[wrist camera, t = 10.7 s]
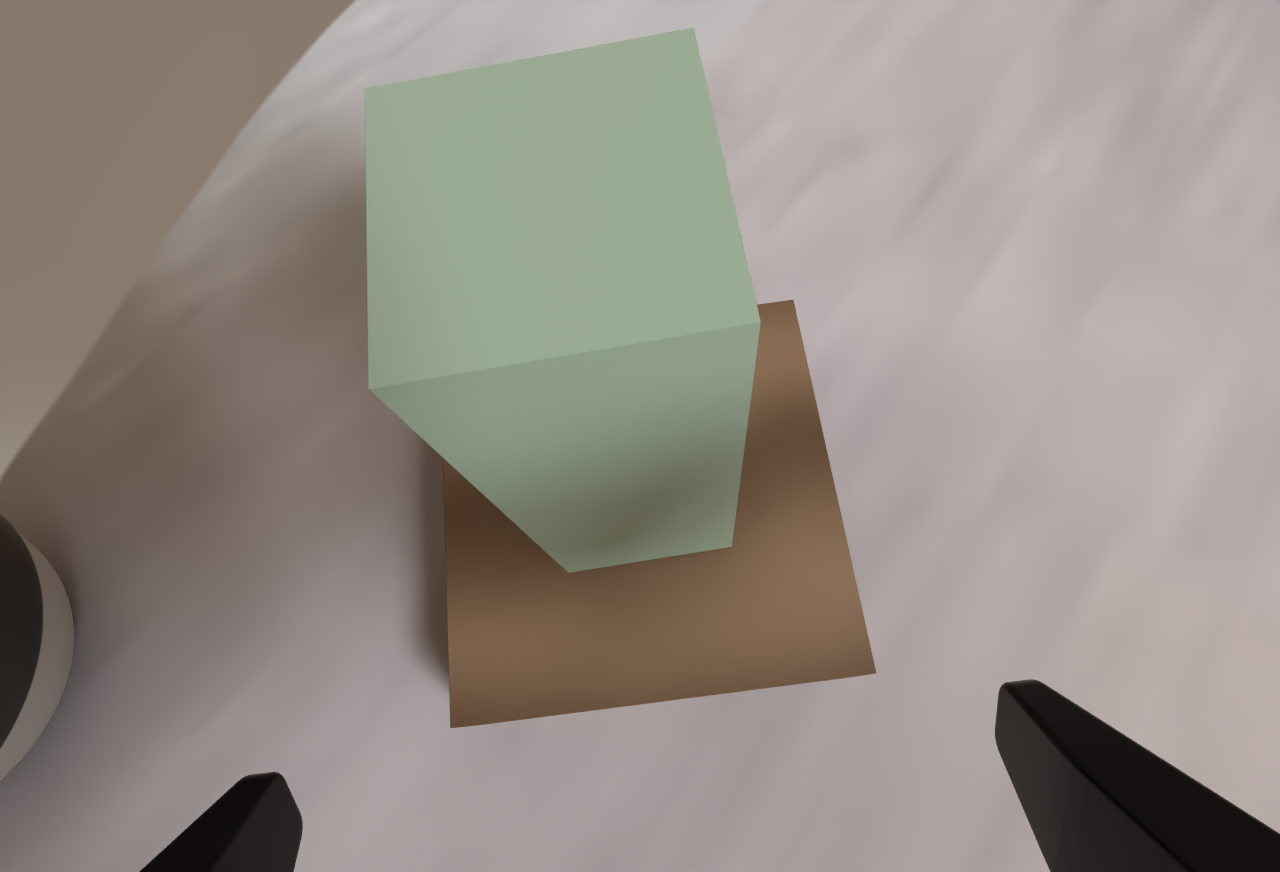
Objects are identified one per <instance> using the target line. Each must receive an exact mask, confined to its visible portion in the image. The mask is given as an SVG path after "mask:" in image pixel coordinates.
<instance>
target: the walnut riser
mask: <svg viewBox="0 0 1280 872" xmlns="http://www.w3.org/2000/svg"><path fill="white" fill-rule="evenodd" d="M757 308H758V312H759V317H760V321H761V324H760V332H759V340H758V347H757V355H756V363H755V370H754V378H753V386H752V394H751V401H750V409H749V417H748V425H747V432H746V440H745V448H744V455H743V463H742V471H741V479H740V486H739V494H738V502H737V509H736V517H735V525H734V533H733V540H732V547H727V548H721V549H715V550H709V551H702V552H696V553H690V554H684V555H677V556H671V557H665V558H659V559H652V560H646V561H640V562H634V563H627V564H621V565H615V566H609V567H602V568H596V569H590V570H584V571H577V572H571V573H568V572H567V571H566V570H565V569H564V568H563V567H562V566H561V565H559V564H558V563H557V562H556V561H555V560H554V559H553V558H552V557H551V556H550V555H549V554H547V553H546V552H545V551H544V550H543V549H542V548H541V547H540V546H539V545H538V544H537V543H535V542H534V541H533V540H532V539H531V538H530V537H529V536H528V535H527V534H526V533H525V532H523V531H522V530H521V529H520V528H519V527H518V526H517V525H516V524H515V523H514V522H513V521H511V520H510V519H509V518H508V517H507V516H506V515H505V514H504V513H503V512H502V511H501V510H499V509H498V508H497V507H496V506H495V505H494V504H493V503H492V502H491V501H490V500H489V499H487V498H486V497H485V496H484V495H483V494H482V493H481V492H480V491H479V490H478V489H477V488H476V487H474V486H473V485H472V484H471V483H470V482H469V481H468V480H467V479H466V478H465V477H464V476H462V475H461V474H460V473H459V472H458V471H457V470H456V469H455V468H454V467H453V466H452V465H450V464H449V463H448V462H447V461H446V460H445V459H444V458H443V477H444V513H445V549H446V585H447V620H448V656H449V692H450V727H451V728H456V727H465V726H475V725H484V724H492V723H500V722H507V721H515V720H523V719H531V718H538V717H546V716H554V715H562V714H569V713H577V712H585V711H593V710H600V709H608V708H616V707H624V706H632V705H639V704H647V703H655V702H663V701H670V700H678V699H686V698H694V697H701V696H709V695H717V694H725V693H732V692H740V691H748V690H756V689H764V688H771V687H779V686H787V685H795V684H802V683H810V682H818V681H826V680H833V679H841V678H849V677H856V676H862V675H868V674H874V673H876V670H875V666H874V661H873V657H872V652H871V648H870V643H869V639H868V634H867V630H866V625H865V621H864V616H863V612H862V607H861V603H860V598H859V594H858V589H857V585H856V580H855V576H854V571H853V567H852V562H851V558H850V553H849V549H848V544H847V540H846V535H845V531H844V526H843V522H842V517H841V513H840V508H839V504H838V499H837V495H836V490H835V486H834V481H833V477H832V472H831V468H830V463H829V459H828V454H827V450H826V445H825V441H824V436H823V432H822V427H821V423H820V418H819V414H818V409H817V405H816V400H815V396H814V391H813V387H812V382H811V378H810V373H809V369H808V364H807V360H806V355H805V351H804V346H803V342H802V337H801V333H800V328H799V324H798V319H797V315H796V310H795V306H794V301H793V300H788V301H781V302H774V303H766V304H759V305H757Z"/></svg>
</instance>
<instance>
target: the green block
mask: <svg viewBox="0 0 1280 872" xmlns="http://www.w3.org/2000/svg"><path fill="white" fill-rule="evenodd" d="M365 142H366V228H367V314H368V389H369V390H370V391H371V392H372V393H373V394H374V395H375V396H376V397H377V398H379V399H380V400H381V401H382V402H383V403H384V404H385V405H386V406H387V407H388V408H389V409H391V410H392V411H393V412H394V413H395V414H396V415H397V416H398V417H399V418H400V419H401V420H403V421H404V422H405V423H406V424H407V425H408V426H409V427H410V428H411V429H412V430H413V431H414V432H416V433H417V434H418V435H419V436H420V437H421V438H422V439H423V440H424V441H425V442H426V443H428V444H429V445H430V446H431V447H432V448H433V449H434V450H435V451H436V452H437V453H438V454H440V455H441V456H442V457H443V458H444V459H445V460H446V461H447V462H448V463H449V464H450V465H452V466H453V467H454V468H455V469H456V470H457V471H458V472H459V473H460V474H461V475H462V476H464V477H465V478H466V479H467V480H468V481H469V482H470V483H471V484H472V485H473V486H474V487H476V488H477V489H478V490H479V491H480V492H481V493H482V494H483V495H484V496H485V497H486V498H487V499H489V500H490V501H491V502H492V503H493V504H494V505H495V506H496V507H497V508H498V509H499V510H501V511H502V512H503V513H504V514H505V515H506V516H507V517H508V518H509V519H510V520H511V521H513V522H514V523H515V524H516V525H517V526H518V527H519V528H520V529H521V530H522V531H523V532H525V533H526V534H527V535H528V536H529V537H530V538H531V539H532V540H533V541H534V542H535V543H537V544H538V545H539V546H540V547H541V548H542V549H543V550H544V551H545V552H546V553H547V554H549V555H550V556H551V557H552V558H553V559H554V560H555V561H556V562H557V563H558V564H559V565H561V566H562V567H563V568H564V569H565V570H566V571H567V572H568V573H571V572H577V571H584V570H590V569H596V568H602V567H609V566H615V565H621V564H627V563H634V562H640V561H646V560H652V559H659V558H665V557H671V556H677V555H684V554H690V553H696V552H702V551H709V550H715V549H721V548H727V547H732V540H733V533H734V525H735V517H736V509H737V502H738V494H739V486H740V479H741V471H742V463H743V455H744V448H745V440H746V432H747V425H748V417H749V409H750V401H751V394H752V386H753V378H754V370H755V363H756V355H757V347H758V340H759V332H760V324H761V321H760V317H759V312H758V308H757V304H756V299H755V295H754V290H753V286H752V282H751V277H750V273H749V268H748V264H747V260H746V255H745V251H744V247H743V242H742V238H741V233H740V229H739V225H738V220H737V216H736V212H735V207H734V203H733V198H732V194H731V190H730V185H729V181H728V177H727V172H726V168H725V163H724V159H723V155H722V150H721V146H720V142H719V137H718V133H717V128H716V124H715V120H714V115H713V111H712V107H711V102H710V98H709V93H708V89H707V85H706V80H705V76H704V72H703V67H702V63H701V58H700V54H699V50H698V45H697V41H696V36H695V32H694V28H690V29H685V30H679V31H674V32H668V33H663V34H658V35H652V36H647V37H642V38H636V39H631V40H625V41H620V42H615V43H609V44H604V45H599V46H593V47H588V48H583V49H577V50H572V51H566V52H561V53H556V54H550V55H545V56H540V57H534V58H529V59H523V60H518V61H513V62H507V63H502V64H497V65H491V66H486V67H480V68H475V69H470V70H464V71H459V72H454V73H448V74H443V75H437V76H432V77H427V78H421V79H416V80H411V81H405V82H400V83H394V84H389V85H384V86H378V87H373V88H368V89H365Z"/></svg>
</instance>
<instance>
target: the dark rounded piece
mask: <svg viewBox="0 0 1280 872" xmlns="http://www.w3.org/2000/svg"><path fill="white" fill-rule="evenodd" d="M73 651H74V624H73V616H72V611H71V606H70V602H69V599H68V596H67V594H66V591H65V588H64V586H63V584H62V582H61V580H60V578H59V576H58V575H57V573H56V571H55V570H54V569H53V567H52V566H51V564H50V563H49V561H48V560H47V559H46V558H45V557H44V556H43V555H42V553H41V552H40V551H39V550H38V549H37V548H36V547H35V546H34V545H33V544H31V543H30V542H29V541H28V540H27V539H26V538H24V537H23V536H22V535H21V534H19V533H18V532H17V531H16V529H15V528H14V527H13V526H12V525H11V524H10V523H9V522H8V521H7V520H6V519H5V518H4V517H3V516H2V515H1V514H0V781H1V780H2V779H3V778H4V777H5V776H6V775H7V774H8V773H9V772H10V771H11V770H12V769H13V768H14V767H15V766H16V765H17V764H18V763H19V762H20V761H21V760H22V759H23V757H24V756H25V755H26V754H27V753H28V752H29V750H30V749H31V748H32V746H33V745H34V744H35V742H36V741H37V740H38V738H39V737H40V735H41V734H42V733H43V731H44V729H45V728H46V726H47V725H48V723H49V721H50V720H51V718H52V716H53V714H54V712H55V710H56V708H57V706H58V704H59V702H60V699H61V697H62V695H63V692H64V689H65V686H66V684H67V681H68V677H69V673H70V669H71V664H72V658H73Z"/></svg>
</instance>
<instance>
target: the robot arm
mask: <svg viewBox="0 0 1280 872" xmlns="http://www.w3.org/2000/svg"><path fill="white" fill-rule="evenodd" d="M995 739H996V744H997V747H998V750H999V753H1000V755H1001V758H1002V760H1003V762H1004V765H1005V767H1006V769H1007V772H1008V774H1009V776H1010V779H1011V781H1012V783H1013V786H1014V788H1015V791H1016V793H1017V795H1018V798H1019V800H1020V802H1021V805H1022V807H1023V809H1024V812H1025V814H1026V816H1027V819H1028V821H1029V823H1030V826H1031V828H1032V830H1033V833H1034V835H1035V837H1036V840H1037V842H1038V844H1039V847H1040V849H1041V851H1042V854H1043V856H1044V858H1045V861H1046V863H1047V865H1048V867H1049V869H1050V872H1280V834H1279V833H1278V832H1276V831H1275V830H1273V829H1272V828H1270V827H1268V826H1267V825H1265V824H1264V823H1262V822H1261V821H1259V820H1257V819H1256V818H1254V817H1253V816H1251V815H1250V814H1248V813H1246V812H1245V811H1243V810H1242V809H1240V808H1239V807H1237V806H1235V805H1234V804H1232V803H1231V802H1229V801H1228V800H1226V799H1224V798H1223V797H1221V796H1220V795H1218V794H1217V793H1215V792H1213V791H1212V790H1210V789H1209V788H1207V787H1206V786H1204V785H1202V784H1201V783H1199V782H1198V781H1196V780H1195V779H1193V778H1191V777H1190V776H1188V775H1187V774H1185V773H1184V772H1182V771H1180V770H1179V769H1177V768H1176V767H1174V766H1173V765H1171V764H1169V763H1168V762H1166V761H1165V760H1163V759H1162V758H1160V757H1158V756H1157V755H1155V754H1154V753H1152V752H1151V751H1149V750H1147V749H1146V748H1144V747H1143V746H1141V745H1140V744H1138V743H1136V742H1135V741H1133V740H1132V739H1130V738H1129V737H1127V736H1125V735H1124V734H1122V733H1121V732H1119V731H1117V730H1116V729H1114V728H1113V727H1111V726H1110V725H1108V724H1106V723H1105V722H1103V721H1102V720H1100V719H1099V718H1097V717H1095V716H1094V715H1092V714H1091V713H1089V712H1088V711H1086V710H1084V709H1083V708H1081V707H1080V706H1078V705H1077V704H1075V703H1073V702H1072V701H1070V700H1069V699H1067V698H1066V697H1064V696H1062V695H1061V694H1059V693H1058V692H1056V691H1055V690H1053V689H1051V688H1050V687H1048V686H1047V685H1045V684H1044V683H1042V682H1040V681H1037V680H1032V679H1031V680H1022V681H1014V682H1006V683H1004V684H1003V685H1002V686H1001V687H1000V690H999V696H998V705H997V715H996V724H995ZM302 828H303V826H302V817H301V814H300V811H299V809H298V807H297V805H296V803H295V800H294V798H293V796H292V794H291V792H290V790H289V787H288V785H287V783H286V781H285V779H284V777H283V776H282V775H281V774H279V773H278V772H269V773H261V774H253V775H248V776H245V777H244V778H242V779H241V780H239V781H238V782H237V783H236V784H235V785H234V786H233V787H231V788H230V789H229V790H228V791H227V792H226V793H225V794H224V795H223V796H222V797H221V798H219V799H218V800H217V801H216V802H215V803H214V804H213V805H212V806H211V807H210V808H209V809H207V810H206V811H205V812H204V813H203V814H202V815H201V816H200V817H199V818H198V819H196V820H195V821H194V822H193V823H192V824H191V825H190V826H189V827H188V828H187V829H186V830H184V831H183V832H182V833H181V834H180V835H179V836H178V837H177V838H176V839H175V840H174V841H172V842H171V843H170V844H169V845H168V846H167V847H166V848H165V849H164V850H163V851H162V852H160V853H159V854H158V855H157V856H156V857H155V858H154V859H153V860H152V861H151V862H150V863H148V864H147V865H146V866H145V867H144V868H143V869H142V870H141V871H140V872H294V867H295V863H296V859H297V854H298V850H299V846H300V841H301V837H302Z"/></svg>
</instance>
